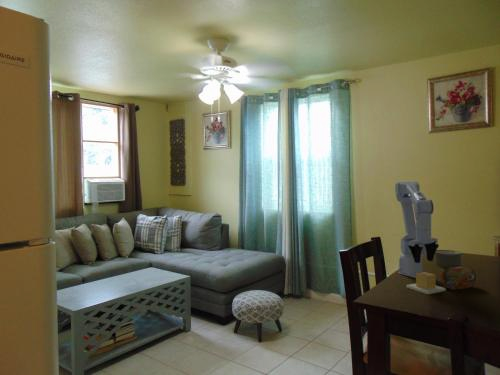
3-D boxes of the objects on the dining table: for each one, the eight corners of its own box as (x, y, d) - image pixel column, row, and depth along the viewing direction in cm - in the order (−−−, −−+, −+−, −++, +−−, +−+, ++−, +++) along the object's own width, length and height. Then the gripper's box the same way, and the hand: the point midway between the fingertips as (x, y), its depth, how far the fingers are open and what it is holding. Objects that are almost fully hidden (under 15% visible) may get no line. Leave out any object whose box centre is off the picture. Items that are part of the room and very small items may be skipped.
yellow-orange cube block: (416, 285, 146) (416, 273, 146) (424, 284, 148) (424, 271, 148) (426, 289, 142) (426, 276, 141) (435, 287, 144) (435, 274, 144)
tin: (446, 290, 143) (446, 269, 142) (440, 288, 146) (439, 267, 145) (476, 287, 147) (476, 266, 146) (470, 285, 150) (470, 264, 149)
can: (433, 262, 191) (433, 249, 191) (459, 263, 186) (459, 250, 186) (435, 267, 180) (435, 253, 180) (463, 269, 175) (463, 255, 175)
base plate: (406, 287, 147) (406, 275, 147) (423, 284, 152) (423, 272, 151) (427, 294, 138) (427, 281, 138) (445, 290, 142) (445, 278, 142)
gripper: (419, 231, 144) (419, 265, 145) (444, 229, 150) (444, 261, 151) (404, 229, 151) (405, 262, 151) (429, 227, 157) (429, 258, 157)
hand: (423, 261), depth 151 cm, fingers open, 7 cm apart
